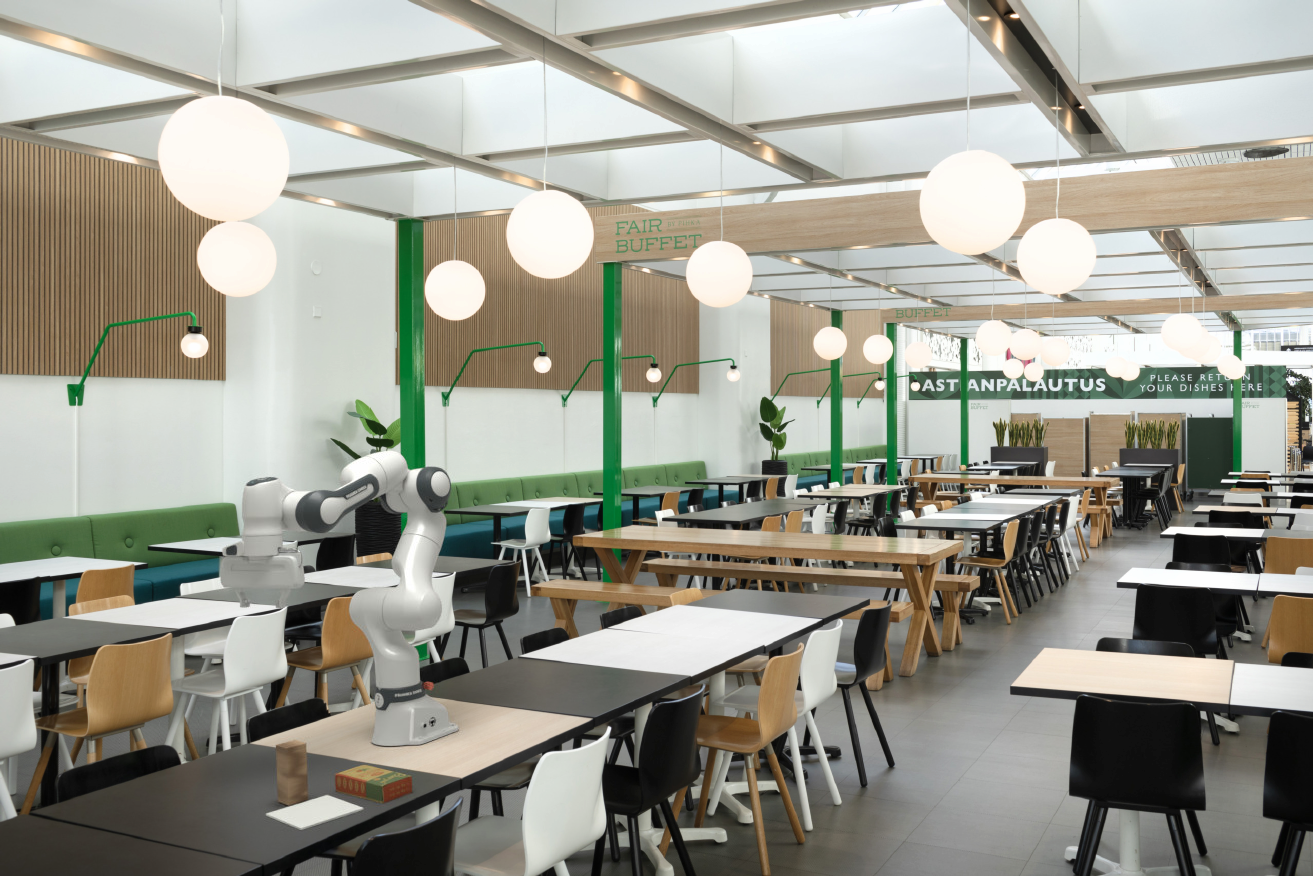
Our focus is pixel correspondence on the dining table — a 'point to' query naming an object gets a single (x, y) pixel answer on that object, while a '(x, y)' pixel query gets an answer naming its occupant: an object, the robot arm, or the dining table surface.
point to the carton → (373, 783)
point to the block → (292, 772)
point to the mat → (314, 812)
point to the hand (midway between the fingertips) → (262, 607)
